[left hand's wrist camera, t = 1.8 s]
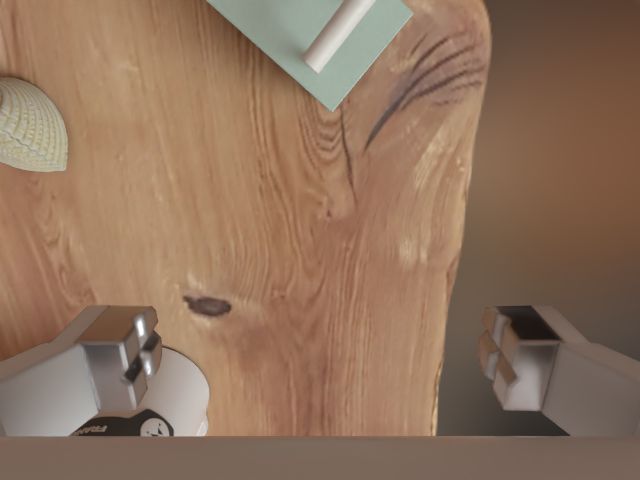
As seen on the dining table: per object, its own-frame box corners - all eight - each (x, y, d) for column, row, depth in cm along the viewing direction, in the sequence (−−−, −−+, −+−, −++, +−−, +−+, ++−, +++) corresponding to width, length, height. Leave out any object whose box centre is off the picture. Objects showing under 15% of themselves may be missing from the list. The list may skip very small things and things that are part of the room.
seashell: (-2, 46, 38) (40, 101, 36) (59, 102, 46) (96, 149, 44) (-81, 98, 37) (-43, 157, 35) (-5, 146, 45) (30, 197, 43)
